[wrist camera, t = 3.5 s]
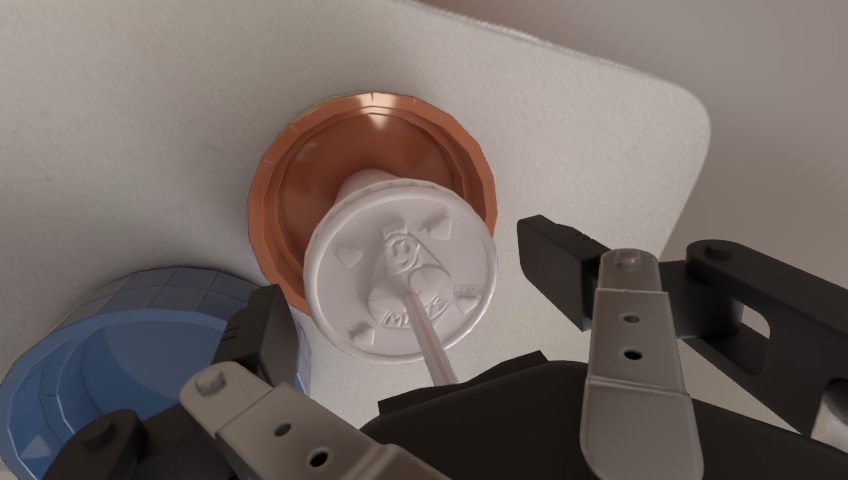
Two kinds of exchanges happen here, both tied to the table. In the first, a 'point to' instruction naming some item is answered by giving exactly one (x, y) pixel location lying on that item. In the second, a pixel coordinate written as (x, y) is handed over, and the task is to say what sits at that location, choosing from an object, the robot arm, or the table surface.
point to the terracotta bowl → (346, 154)
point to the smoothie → (399, 271)
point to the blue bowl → (119, 359)
